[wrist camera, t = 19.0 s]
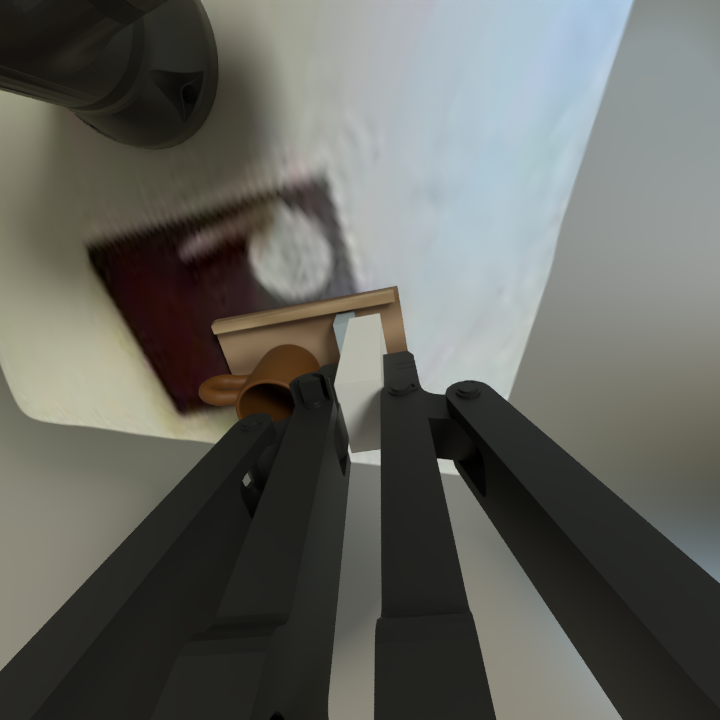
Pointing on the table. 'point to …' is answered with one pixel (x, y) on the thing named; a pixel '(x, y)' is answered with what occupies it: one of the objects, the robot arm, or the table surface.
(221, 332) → the housing base
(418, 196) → the table surface
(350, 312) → the bar
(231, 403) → the mug
